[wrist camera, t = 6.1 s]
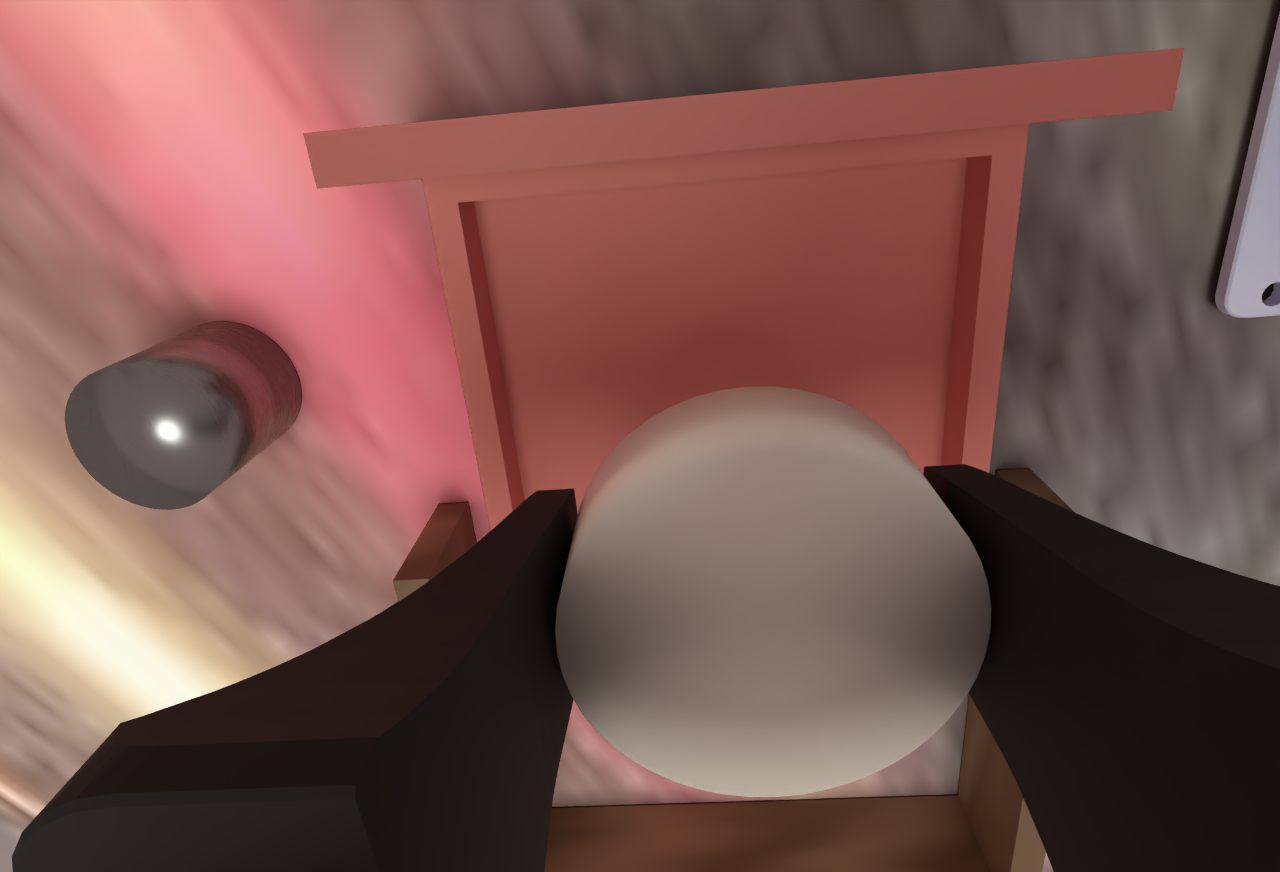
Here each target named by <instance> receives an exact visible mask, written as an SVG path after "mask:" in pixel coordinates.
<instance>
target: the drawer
mask: <svg viewBox="0 0 1280 872" xmlns="http://www.w3.org/2000/svg"><path fill="white" fill-rule="evenodd" d="M1183 51H1184V48H1180V49H1169V50H1159V51H1149V52H1138V53H1128V54H1118V55H1107V56H1097V57H1087V58H1076V59H1066V60H1056V61H1045V62H1035V63H1025V64H1014V65H1004V66H994V67H983V68H973V69H963V70H952V71H942V72H932V73H921V74H911V75H901V76H890V77H880V78H870V79H859V80H849V81H839V82H828V83H818V84H808V85H797V86H787V87H777V88H766V89H756V90H746V91H735V92H725V93H715V94H704V95H694V96H684V97H673V98H663V99H653V100H642V101H632V102H622V103H611V104H601V105H591V106H580V107H570V108H560V109H549V110H539V111H529V112H518V113H508V114H498V115H487V116H477V117H467V118H456V119H446V120H436V121H425V122H415V123H404V124H394V125H384V126H373V127H363V128H353V129H342V130H332V131H322V132H311V133H303V134H304V138H305V142H306V146H307V150H308V154H309V158H310V162H311V166H312V170H313V174H314V178H315V182H316V186H317V188H328V187H339V186H350V185H361V184H372V183H383V182H394V181H405V180H416V179H422V181H423V186H424V191H425V197H426V202H427V207H428V212H429V217H430V222H431V227H432V233H433V238H434V243H435V248H436V253H437V258H438V263H439V269H440V274H441V279H442V284H443V289H444V294H445V299H446V305H447V310H448V315H449V320H450V325H451V330H452V335H453V340H454V346H455V351H456V356H457V361H458V366H459V371H460V376H461V382H462V387H463V392H464V397H465V402H466V407H467V412H468V418H469V423H470V428H471V433H472V438H473V443H474V448H475V454H476V459H477V464H478V469H479V474H480V479H481V484H482V490H483V495H484V500H485V505H486V510H487V515H488V520H489V526H490V531H491V530H492V529H493V528H495V527H496V526H497V525H498V524H499V523H500V522H501V521H502V520H504V519H505V518H506V517H507V516H508V515H509V514H510V513H511V512H512V511H513V510H515V509H516V508H517V507H518V506H519V505H520V504H521V503H522V502H523V501H525V500H526V499H527V498H528V497H529V496H530V495H532V494H533V493H534V492H536V491H540V490H556V489H572V488H574V491H575V498H576V506H577V513H578V512H579V508H580V505H581V502H582V500H583V497H584V495H585V492H586V490H587V487H588V485H589V483H590V482H591V480H592V478H593V476H594V475H595V473H596V471H597V470H598V468H599V466H600V465H601V464H602V463H603V461H604V460H605V459H606V457H607V456H608V455H609V454H610V452H611V451H612V450H613V449H614V448H615V447H616V446H617V445H618V444H619V443H620V442H621V441H622V440H623V439H624V438H625V437H626V436H627V435H628V434H629V433H631V432H632V431H633V430H635V429H636V428H637V427H639V426H640V425H641V424H643V423H644V422H645V421H647V420H648V419H650V418H651V417H653V416H655V415H657V414H659V413H660V412H662V411H664V410H666V409H668V408H669V407H671V406H674V405H676V404H679V403H681V402H684V401H686V400H689V399H691V398H694V397H696V396H700V395H704V394H708V393H712V392H715V391H719V390H726V389H733V388H740V387H760V386H774V387H783V388H792V389H799V390H803V391H808V392H812V393H816V394H820V395H824V396H826V397H829V398H831V399H834V400H837V401H839V402H842V403H844V404H847V405H849V406H850V407H852V408H854V409H856V410H858V411H860V412H861V413H863V414H865V415H867V416H868V417H870V418H871V419H872V420H874V421H875V422H876V423H878V424H879V425H880V426H882V427H883V428H884V429H886V430H887V431H888V432H889V433H890V434H891V435H892V436H893V437H894V438H895V439H896V440H897V441H898V442H899V443H900V444H901V445H902V446H903V448H904V449H905V450H906V452H907V453H908V454H909V456H910V457H911V459H912V460H913V461H914V463H915V464H916V465H917V467H918V468H919V470H920V471H921V472H922V474H923V472H924V467H926V466H942V465H958V464H966V465H969V466H972V467H975V468H978V469H980V470H983V471H985V472H988V473H989V469H990V460H991V452H992V443H993V434H994V426H995V417H996V408H997V400H998V391H999V382H1000V374H1001V365H1002V356H1003V348H1004V339H1005V330H1006V321H1007V313H1008V304H1009V295H1010V287H1011V278H1012V269H1013V261H1014V252H1015V243H1016V235H1017V226H1018V217H1019V209H1020V200H1021V191H1022V182H1023V174H1024V165H1025V156H1026V148H1027V139H1028V130H1029V123H1040V122H1051V121H1062V120H1073V119H1084V118H1094V117H1105V116H1116V115H1127V114H1138V113H1149V112H1160V111H1171V110H1173V105H1174V100H1175V94H1176V89H1177V84H1178V78H1179V73H1180V67H1181V62H1182V57H1183Z"/></svg>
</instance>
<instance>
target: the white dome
mask: <svg viewBox="0 0 1280 872" xmlns="http://www.w3.org/2000/svg"><path fill="white" fill-rule="evenodd" d="M990 628H991V602H990V594H989V586H988V582H987V579H986V575H985V572H984V569H983V566H982V562H981V560H980V558H979V556H978V554H977V552H976V550H975V548H974V546H973V544H972V542H971V540H970V538H969V537H968V536H967V534H966V533H965V531H964V530H963V529H962V527H961V526H960V525H959V523H958V522H957V520H956V519H955V518H954V516H953V515H952V514H951V512H950V511H949V509H948V508H947V507H946V505H945V504H944V503H943V501H942V500H941V498H940V497H939V496H938V494H937V493H936V492H935V490H934V489H933V487H932V486H931V485H930V483H929V482H928V481H927V479H926V478H925V476H924V475H923V474H922V472H921V471H920V470H919V468H918V467H917V465H916V464H915V463H914V461H913V460H912V459H911V457H910V456H909V454H908V453H907V452H906V450H905V449H904V448H903V446H902V445H901V444H900V443H899V442H898V441H897V440H896V439H895V438H894V437H893V436H892V435H891V434H890V433H889V432H888V431H887V430H886V429H884V428H883V427H882V426H880V425H879V424H878V423H876V422H875V421H874V420H872V419H871V418H870V417H868V416H867V415H865V414H863V413H861V412H860V411H858V410H856V409H854V408H852V407H850V406H849V405H847V404H844V403H842V402H839V401H837V400H834V399H831V398H829V397H826V396H824V395H820V394H816V393H812V392H808V391H803V390H799V389H792V388H783V387H774V386H760V387H740V388H733V389H726V390H719V391H715V392H712V393H708V394H704V395H700V396H696V397H694V398H691V399H689V400H686V401H684V402H681V403H679V404H676V405H674V406H671V407H669V408H668V409H666V410H664V411H662V412H660V413H659V414H657V415H655V416H653V417H651V418H650V419H648V420H647V421H645V422H644V423H643V424H641V425H640V426H639V427H637V428H636V429H635V430H633V431H632V432H631V433H629V434H628V435H627V436H626V437H625V438H624V439H623V440H622V441H621V442H620V443H619V444H618V445H617V446H616V447H615V448H614V449H613V450H612V451H611V452H610V454H609V455H608V456H607V457H606V459H605V460H604V461H603V463H602V464H601V465H600V466H599V468H598V470H597V471H596V473H595V475H594V476H593V478H592V480H591V482H590V483H589V485H588V487H587V490H586V492H585V495H584V497H583V500H582V502H581V505H580V508H579V512H578V516H577V521H576V525H575V529H574V534H573V538H572V543H571V547H570V552H569V556H568V560H567V565H566V569H565V574H564V578H563V583H562V587H561V592H560V596H559V601H558V605H557V612H556V626H555V635H556V646H557V655H558V659H559V663H560V667H561V671H562V675H563V677H564V680H565V682H566V684H567V687H568V689H569V691H570V694H571V696H572V697H573V699H574V701H575V702H576V704H577V706H578V707H579V709H580V711H581V712H582V714H583V715H584V716H585V718H586V719H587V720H588V721H589V722H590V724H591V725H592V726H593V727H594V729H595V730H596V731H597V732H598V733H599V734H600V735H601V736H602V737H603V738H604V739H605V740H607V741H608V742H609V743H610V744H611V745H612V746H613V747H614V748H615V749H617V750H618V751H620V752H621V753H622V754H624V755H625V756H626V757H628V758H629V759H631V760H632V761H633V762H635V763H637V764H639V765H641V766H642V767H644V768H646V769H648V770H649V771H651V772H653V773H655V774H658V775H660V776H662V777H665V778H667V779H669V780H672V781H674V782H677V783H680V784H683V785H686V786H690V787H693V788H696V789H700V790H704V791H709V792H714V793H719V794H725V795H735V796H744V797H781V796H793V795H802V794H807V793H813V792H818V791H824V790H828V789H831V788H835V787H838V786H842V785H846V784H849V783H852V782H854V781H857V780H859V779H862V778H864V777H867V776H870V775H872V774H874V773H876V772H878V771H880V770H882V769H884V768H886V767H888V766H890V765H892V764H894V763H896V762H897V761H899V760H900V759H902V758H903V757H905V756H906V755H908V754H909V753H911V752H913V751H914V750H916V749H917V748H918V747H919V746H921V745H922V744H923V743H924V742H925V741H927V740H928V739H929V738H930V737H932V736H933V735H934V734H935V733H936V732H937V731H938V730H939V729H940V728H941V727H942V726H943V725H944V724H945V723H946V722H947V721H948V720H949V719H950V717H951V716H952V715H953V714H954V712H955V711H956V710H957V708H958V707H959V706H960V704H961V703H962V702H963V700H964V699H965V698H966V696H967V694H968V692H969V691H970V689H971V687H972V685H973V683H974V682H975V680H976V678H977V676H978V673H979V671H980V668H981V665H982V663H983V660H984V657H985V655H986V650H987V645H988V640H989V635H990Z"/></svg>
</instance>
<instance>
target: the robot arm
mask: <svg viewBox="0 0 1280 872" xmlns="http://www.w3.org/2000/svg"><path fill="white" fill-rule="evenodd" d="M1273 283H1274V290H1273V292H1272V294H1271V296H1269V297H1268V298H1267V299H1266V300H1264V301H1262V294H1263V292H1264V290H1265V289H1266V288H1267V287H1268V286H1269V285H1270V284H1273ZM1215 303H1216V305H1217V307H1218V309H1219V310H1220V311H1222V312H1223V313H1225V314H1228V315H1230V316H1233V317H1239V318H1250V317H1264V316H1278V315H1280V13H1279V17H1278V21H1277V26H1276V30H1275V35H1274V39H1273V43H1272V48H1271V52H1270V57H1269V61H1268V65H1267V70H1266V74H1265V79H1264V83H1263V87H1262V92H1261V96H1260V100H1259V105H1258V109H1257V114H1256V118H1255V122H1254V127H1253V131H1252V136H1251V140H1250V144H1249V149H1248V153H1247V158H1246V162H1245V166H1244V171H1243V175H1242V179H1241V184H1240V188H1239V193H1238V197H1237V201H1236V206H1235V210H1234V215H1233V219H1232V223H1231V228H1230V232H1229V237H1228V241H1227V245H1226V250H1225V254H1224V258H1223V263H1222V267H1221V272H1220V276H1219V280H1218V285H1217V289H1216V294H1215ZM923 475H924V476H925V478H926V479H927V481H928V482H929V483H930V485H931V486H932V487H933V489H934V490H935V492H936V493H937V494H938V496H939V497H940V498H941V500H942V501H943V503H944V504H945V505H946V507H947V508H948V509H949V511H950V512H951V514H952V515H953V516H954V518H955V519H956V520H957V522H958V523H959V525H960V526H961V527H962V529H963V530H964V531H965V533H966V534H967V536H968V537H969V538H970V540H971V542H972V544H973V546H974V548H975V550H976V552H977V554H978V556H979V558H980V560H981V562H982V566H983V569H984V572H985V575H986V579H987V582H988V586H989V594H990V602H991V628H990V635H989V640H988V645H987V650H986V655H985V657H984V660H983V663H982V665H981V668H980V671H979V673H978V676H977V678H976V680H975V682H974V683H973V685H972V687H971V689H970V691H969V692H968V693H969V694H970V696H971V698H972V700H973V702H974V703H975V705H976V707H977V709H978V711H979V712H980V714H981V716H982V718H983V720H984V721H985V723H986V725H987V727H988V729H989V730H990V732H991V734H992V736H993V738H994V739H995V741H996V743H997V745H998V747H999V748H1000V750H1001V752H1002V754H1003V756H1004V758H1005V760H1006V762H1007V764H1008V766H1009V768H1010V770H1011V772H1012V774H1013V776H1014V778H1015V780H1016V782H1017V784H1018V786H1019V789H1020V791H1021V793H1022V796H1023V798H1024V801H1025V803H1026V805H1027V808H1028V810H1029V812H1030V815H1031V817H1032V820H1033V822H1034V824H1035V827H1036V829H1037V831H1038V834H1039V836H1040V839H1041V841H1042V843H1043V846H1044V848H1045V850H1046V853H1047V855H1048V858H1049V860H1050V863H1051V866H1052V868H1053V871H1054V872H1280V586H1276V585H1272V584H1269V583H1265V582H1262V581H1259V580H1255V579H1252V578H1248V577H1245V576H1241V575H1238V574H1235V573H1232V572H1229V571H1226V570H1223V569H1220V568H1217V567H1214V566H1211V565H1208V564H1205V563H1202V562H1199V561H1196V560H1193V559H1189V558H1186V557H1183V556H1180V555H1178V554H1175V553H1172V552H1169V551H1167V550H1164V549H1161V548H1158V547H1156V546H1153V545H1151V544H1148V543H1145V542H1143V541H1141V540H1138V539H1136V538H1133V537H1131V536H1128V535H1126V534H1123V533H1121V532H1118V531H1116V530H1113V529H1111V528H1108V527H1106V526H1104V525H1101V524H1099V523H1097V522H1095V521H1092V520H1090V519H1088V518H1085V517H1083V516H1081V515H1079V514H1076V513H1074V512H1072V511H1070V510H1068V509H1065V508H1063V507H1061V506H1059V505H1057V504H1055V503H1052V502H1050V501H1048V500H1046V499H1044V498H1042V497H1040V496H1037V495H1035V494H1033V493H1031V492H1029V491H1027V490H1025V489H1023V488H1020V487H1018V486H1016V485H1014V484H1012V483H1010V482H1008V481H1006V480H1003V479H1001V478H999V477H997V476H994V475H992V474H990V473H988V472H985V471H983V470H980V469H978V468H975V467H972V466H969V465H966V464H958V465H942V466H926V467H924V472H923ZM577 516H578V513H577V506H576V498H575V491H574V488H572V489H556V490H540V491H536V492H534V493H533V494H532V495H530V496H529V497H528V498H527V499H526V500H525V501H523V502H522V503H521V504H520V505H519V506H518V507H517V508H516V509H515V510H513V511H512V512H511V513H510V514H509V515H508V516H507V517H506V518H505V519H504V520H502V521H501V522H500V523H499V524H498V525H497V526H496V527H495V528H493V529H492V530H491V531H490V532H489V533H488V534H487V535H485V536H484V537H483V538H482V539H481V540H480V541H479V542H478V543H476V544H475V545H474V546H473V547H472V548H470V549H469V550H468V551H467V552H465V553H464V554H463V555H462V556H460V557H459V558H458V559H456V560H455V561H454V562H453V563H451V564H450V565H449V566H448V567H446V568H445V569H444V570H442V571H441V572H440V573H439V574H437V575H436V576H435V577H434V578H432V579H431V580H430V581H428V582H427V583H425V584H424V585H423V586H421V587H420V588H418V589H417V590H415V591H414V592H412V593H411V594H409V595H408V596H406V597H405V598H403V599H402V600H400V601H399V602H397V603H395V604H394V605H392V606H391V607H389V608H387V609H386V610H384V611H383V612H381V613H380V614H378V615H376V616H374V617H373V618H371V619H369V620H368V621H366V622H364V623H362V624H360V625H358V626H356V627H354V628H352V629H351V630H349V631H347V632H345V633H343V634H341V635H339V636H337V637H335V638H334V639H332V640H330V641H328V642H326V643H324V644H322V645H320V646H318V647H317V648H315V649H313V650H311V651H309V652H306V653H304V654H302V655H300V656H298V657H296V658H293V659H291V660H289V661H287V662H285V663H282V664H280V665H278V666H276V667H274V668H271V669H269V670H266V671H264V672H262V673H259V674H257V675H254V676H252V677H250V678H247V679H245V680H242V681H240V682H237V683H235V684H232V685H230V686H227V687H225V688H222V689H219V690H217V691H214V692H211V693H208V694H205V695H203V696H200V697H197V698H194V699H191V700H188V701H185V702H182V703H180V704H177V705H174V706H171V707H168V708H165V709H162V710H159V711H156V712H154V713H151V714H148V715H145V716H142V717H139V718H136V719H132V720H129V721H126V722H123V723H120V724H119V725H118V726H117V728H116V729H115V730H114V731H113V732H112V733H111V734H110V736H109V737H108V738H107V739H106V740H105V741H104V742H103V743H102V744H101V745H100V747H99V748H98V749H97V750H96V751H95V752H94V753H93V754H92V755H91V757H90V758H89V759H88V760H87V761H86V762H85V763H84V764H83V765H82V767H81V768H80V769H79V770H78V771H77V772H76V773H75V774H74V775H73V777H72V778H71V779H70V780H69V781H68V782H67V783H66V784H65V785H64V786H63V788H62V789H61V790H60V791H59V792H58V793H57V794H56V795H55V796H54V798H53V799H52V800H51V801H50V802H49V803H48V804H47V805H46V806H45V808H44V809H43V810H42V811H41V812H40V813H39V814H38V815H37V816H36V817H35V819H34V820H33V821H32V822H31V823H30V824H29V825H28V826H27V827H26V829H25V830H24V831H23V832H22V834H21V836H20V839H19V841H18V843H17V846H16V848H15V851H14V853H13V856H12V864H13V872H544V870H545V861H546V852H547V844H548V835H549V826H550V817H551V809H552V800H553V794H554V789H555V783H556V777H557V771H558V767H559V762H560V758H561V753H562V749H563V744H564V740H565V735H566V731H567V726H568V722H569V717H570V713H571V708H572V704H573V697H572V696H571V694H570V691H569V689H568V687H567V684H566V682H565V680H564V677H563V675H562V671H561V667H560V663H559V659H558V655H557V646H556V635H555V626H556V612H557V605H558V601H559V596H560V592H561V587H562V583H563V578H564V574H565V569H566V565H567V560H568V556H569V552H570V547H571V543H572V538H573V534H574V529H575V525H576V521H577Z"/></svg>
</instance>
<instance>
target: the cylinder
mask: <svg viewBox="0 0 1280 872" xmlns="http://www.w3.org/2000/svg"><path fill="white" fill-rule="evenodd" d="M301 396H302V395H301V386H300V382H299V378H298V375H297V372H296V370H295V368H294V366H293V364H292V363H291V361H290V360H289V358H288V357H287V355H286V354H285V353H284V352H283V350H282V349H281V348H280V347H279V346H278V345H277V344H276V343H275V342H273V341H272V340H271V339H270V338H268V337H267V336H265V335H264V334H262V333H261V332H259V331H257V330H255V329H253V328H250V327H248V326H245V325H242V324H238V323H233V322H212V323H207V324H204V325H201V326H198V327H196V328H194V329H192V330H189V331H187V332H185V333H183V334H180V335H178V336H176V337H173V338H171V339H169V340H167V341H164V342H162V343H160V344H158V345H155V346H153V347H151V348H149V349H146V350H144V351H142V352H139V353H137V354H135V355H133V356H130V357H128V358H126V359H124V360H121V361H119V362H117V363H114V364H112V365H110V366H108V367H105V368H103V369H101V370H99V371H96V372H94V373H92V374H90V375H88V376H87V377H85V378H84V379H83V380H81V381H80V382H79V383H78V384H77V386H76V387H75V388H74V390H73V391H72V393H71V394H70V397H69V399H68V402H67V406H66V411H65V425H66V431H67V435H68V439H69V442H70V444H71V447H72V449H73V451H74V453H75V455H76V456H77V458H78V459H79V461H80V463H81V464H82V465H83V467H84V468H85V469H86V470H87V471H88V473H89V474H90V475H91V476H92V477H93V478H94V479H95V480H96V481H97V482H99V483H100V484H101V485H102V486H103V487H105V488H106V489H108V490H109V491H111V492H112V493H114V494H115V495H117V496H119V497H121V498H122V499H125V500H127V501H129V502H131V503H134V504H137V505H140V506H144V507H148V508H154V509H179V508H183V507H187V506H190V505H193V504H195V503H197V502H199V501H200V500H202V499H204V498H205V497H206V496H207V495H208V494H210V493H211V492H212V491H213V490H215V489H216V488H217V487H218V486H220V485H221V484H222V483H223V482H224V481H226V480H227V479H228V478H229V477H231V476H232V475H233V474H234V473H235V472H237V471H238V470H239V469H240V468H242V467H243V466H244V465H245V464H247V463H248V462H249V461H250V460H251V459H253V458H254V457H255V456H256V455H258V454H259V453H260V452H261V451H262V450H264V449H265V448H266V447H267V446H269V445H270V444H271V443H272V442H273V441H275V440H276V439H277V438H278V437H280V436H281V435H282V434H283V433H284V432H286V431H287V430H288V429H289V428H290V427H291V426H292V424H293V423H294V421H295V420H296V418H297V416H298V413H299V411H300V406H301Z"/></svg>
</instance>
